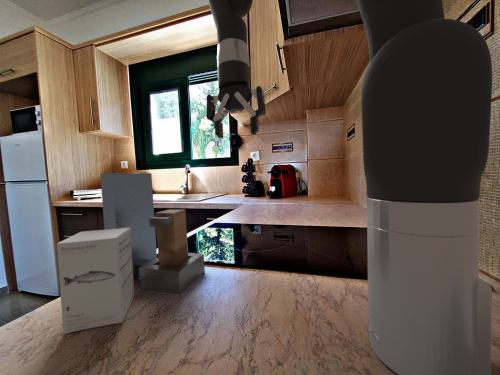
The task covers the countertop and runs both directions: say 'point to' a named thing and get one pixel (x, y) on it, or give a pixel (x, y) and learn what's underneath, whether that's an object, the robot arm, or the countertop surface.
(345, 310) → the countertop surface
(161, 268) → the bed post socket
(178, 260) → the tan post
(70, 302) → the supplement box
